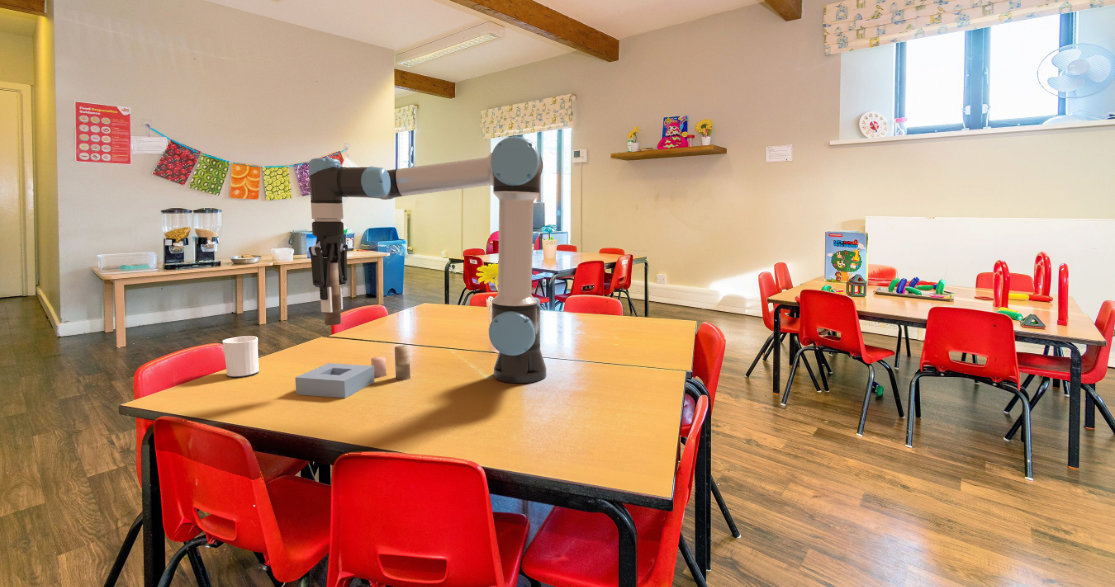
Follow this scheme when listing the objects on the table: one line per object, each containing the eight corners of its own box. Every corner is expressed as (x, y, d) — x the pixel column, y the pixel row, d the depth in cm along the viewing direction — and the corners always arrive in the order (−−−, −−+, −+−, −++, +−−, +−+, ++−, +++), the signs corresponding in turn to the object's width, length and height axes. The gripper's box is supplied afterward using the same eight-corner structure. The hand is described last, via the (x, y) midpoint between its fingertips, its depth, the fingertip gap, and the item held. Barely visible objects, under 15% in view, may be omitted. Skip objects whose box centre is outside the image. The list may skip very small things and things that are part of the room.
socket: (374, 381, 151) (373, 366, 150) (345, 398, 137) (344, 380, 136) (329, 378, 153) (328, 363, 153) (296, 394, 140) (295, 377, 139)
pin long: (344, 322, 144) (341, 262, 142) (335, 325, 140) (331, 263, 138) (330, 321, 145) (327, 262, 143) (321, 324, 141) (317, 263, 139)
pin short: (389, 373, 158) (388, 357, 158) (382, 377, 155) (381, 360, 154) (376, 373, 159) (375, 356, 159) (369, 376, 155) (368, 359, 155)
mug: (266, 372, 159) (264, 338, 157) (235, 380, 151) (232, 344, 150) (246, 367, 165) (244, 334, 163) (215, 374, 157) (212, 339, 156)
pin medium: (412, 376, 156) (411, 345, 155) (406, 380, 152) (405, 349, 151) (400, 375, 157) (398, 345, 155) (393, 379, 153) (391, 348, 152)
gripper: (334, 220, 148) (338, 304, 151) (292, 220, 132) (298, 315, 135) (359, 220, 147) (363, 305, 150) (319, 220, 130) (325, 316, 133)
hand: (332, 310), depth 142 cm, fingers closed on pin long, 4 cm apart
